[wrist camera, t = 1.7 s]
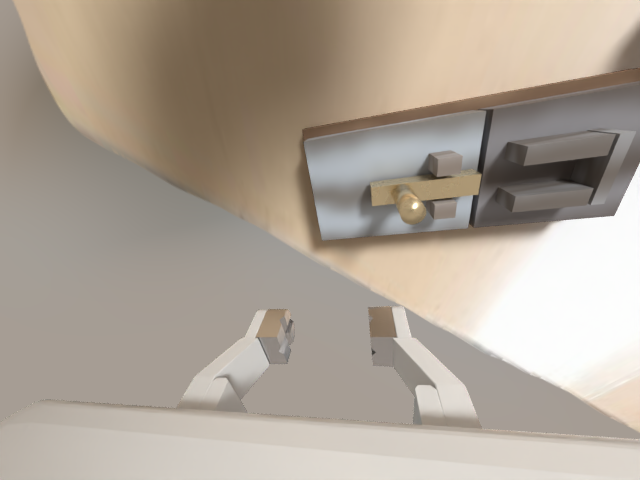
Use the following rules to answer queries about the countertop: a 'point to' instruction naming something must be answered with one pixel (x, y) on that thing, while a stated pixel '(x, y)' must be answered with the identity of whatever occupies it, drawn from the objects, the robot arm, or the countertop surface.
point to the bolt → (422, 192)
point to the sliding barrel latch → (484, 157)
